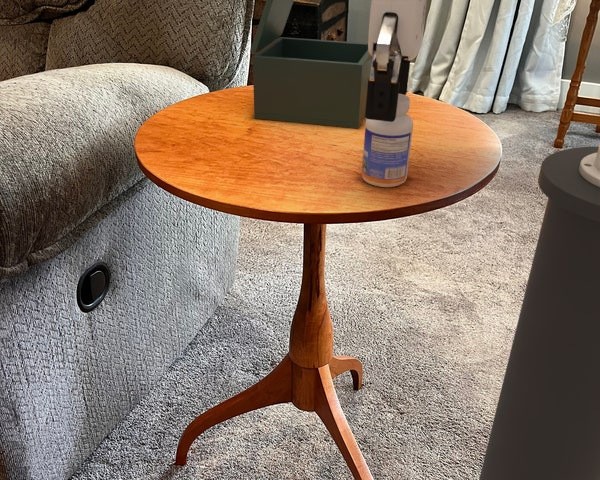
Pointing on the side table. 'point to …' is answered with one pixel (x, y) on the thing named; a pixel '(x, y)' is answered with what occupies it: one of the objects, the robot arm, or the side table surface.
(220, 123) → the side table surface
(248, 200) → the side table surface
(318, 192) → the side table surface
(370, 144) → the pill bottle
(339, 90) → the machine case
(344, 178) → the side table surface
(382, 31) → the robot arm
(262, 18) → the case lid
